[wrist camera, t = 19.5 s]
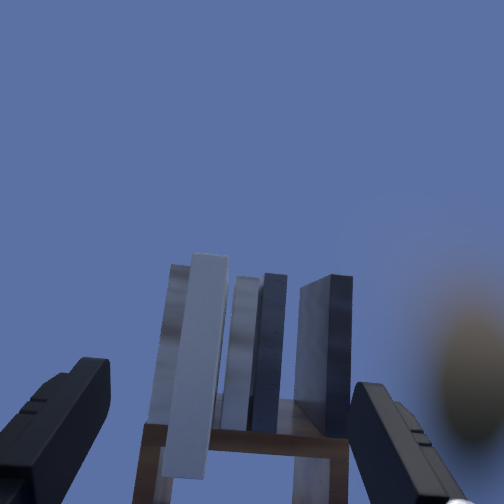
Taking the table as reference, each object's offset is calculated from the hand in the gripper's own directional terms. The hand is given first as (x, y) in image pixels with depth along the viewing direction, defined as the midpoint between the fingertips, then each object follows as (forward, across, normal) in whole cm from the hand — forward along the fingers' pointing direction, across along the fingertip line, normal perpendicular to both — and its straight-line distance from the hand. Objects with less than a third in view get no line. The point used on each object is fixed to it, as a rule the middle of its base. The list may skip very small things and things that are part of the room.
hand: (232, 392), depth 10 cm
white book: (+12, +2, +14) cm, 19 cm away
